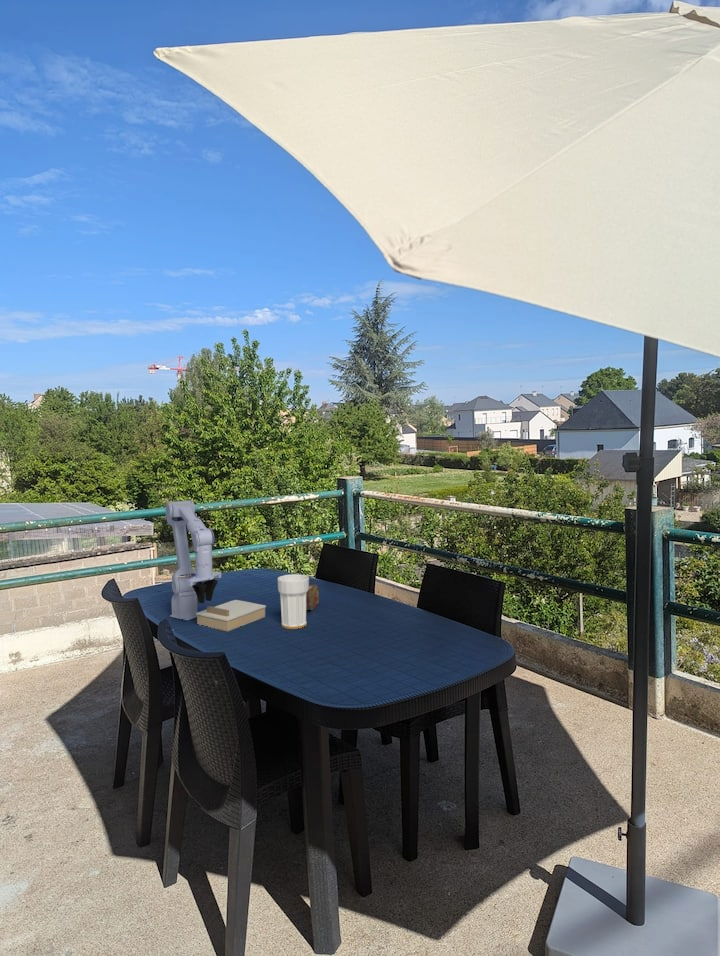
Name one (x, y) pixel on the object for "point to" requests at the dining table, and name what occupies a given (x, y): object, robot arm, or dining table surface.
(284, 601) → the cup
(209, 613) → the mailer lid
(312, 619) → the dining table surface
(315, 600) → the tin
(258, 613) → the box
